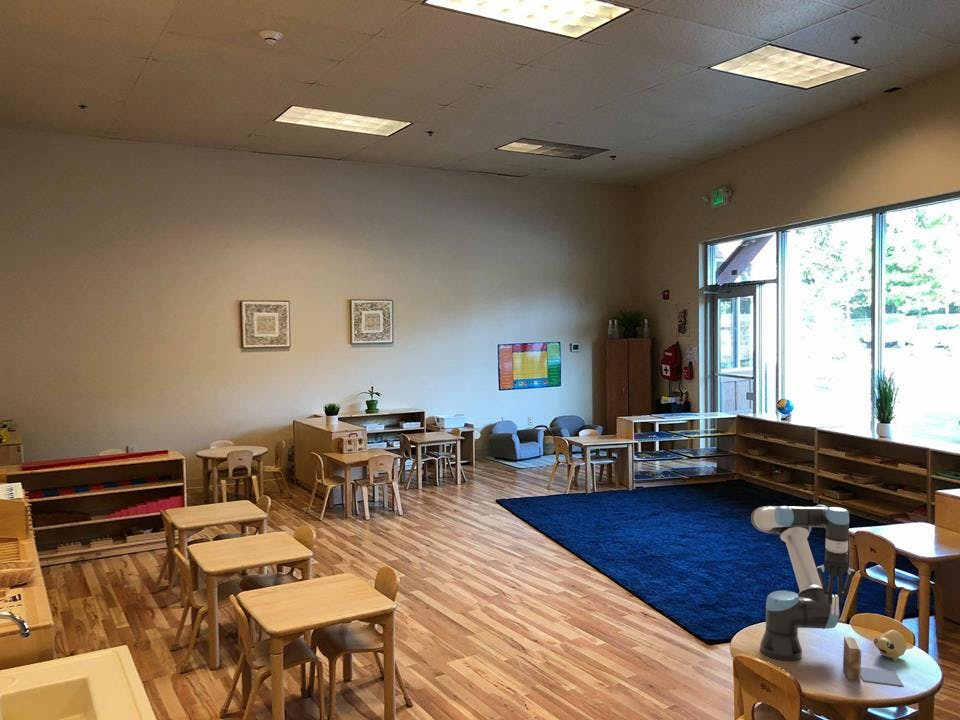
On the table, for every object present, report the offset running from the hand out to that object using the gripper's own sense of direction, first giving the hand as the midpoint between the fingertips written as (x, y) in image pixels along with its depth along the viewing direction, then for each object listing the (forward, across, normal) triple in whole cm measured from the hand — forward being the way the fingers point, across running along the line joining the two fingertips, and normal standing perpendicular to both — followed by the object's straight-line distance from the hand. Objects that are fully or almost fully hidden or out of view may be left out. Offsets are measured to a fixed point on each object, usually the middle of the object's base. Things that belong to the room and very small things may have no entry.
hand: (834, 613), depth 269 cm
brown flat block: (+23, +6, 0) cm, 23 cm away
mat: (+22, +16, +2) cm, 28 cm away
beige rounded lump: (+23, +24, +20) cm, 38 cm away
